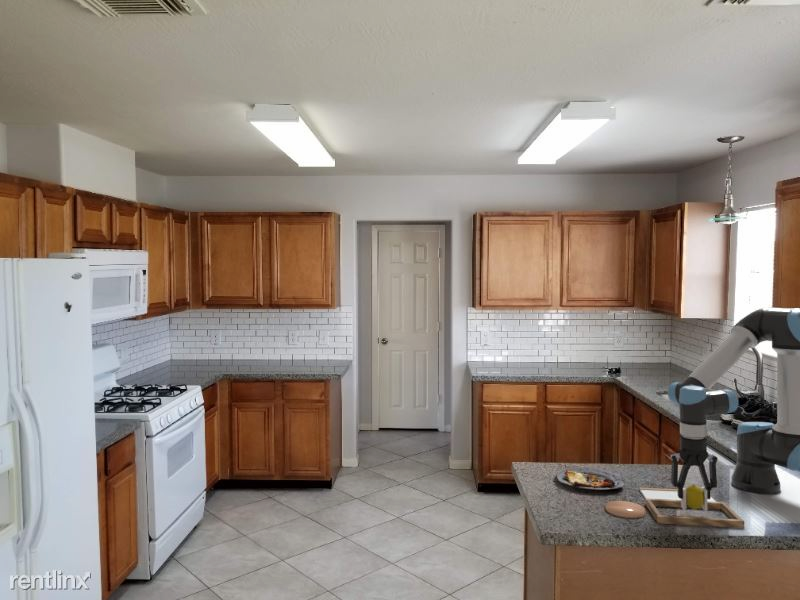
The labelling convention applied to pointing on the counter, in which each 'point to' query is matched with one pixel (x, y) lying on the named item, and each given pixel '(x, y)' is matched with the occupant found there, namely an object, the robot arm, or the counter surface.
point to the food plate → (577, 479)
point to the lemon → (694, 497)
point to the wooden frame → (732, 522)
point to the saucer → (625, 509)
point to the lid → (663, 494)
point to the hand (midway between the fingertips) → (694, 508)
